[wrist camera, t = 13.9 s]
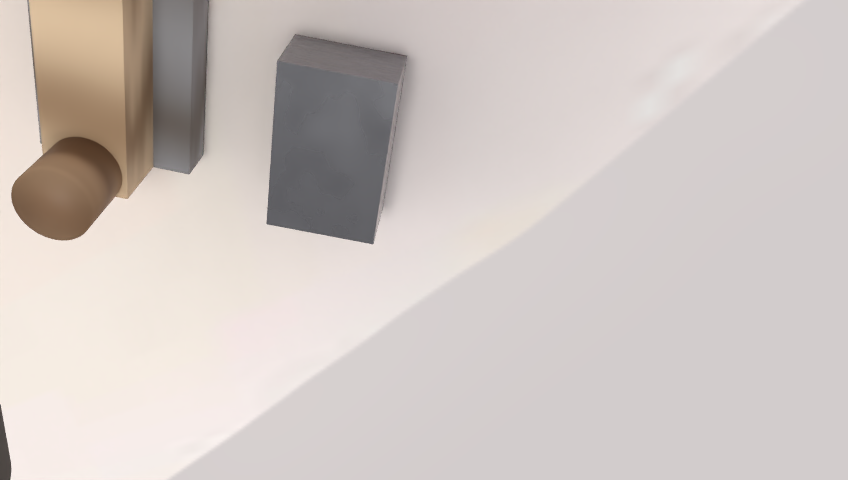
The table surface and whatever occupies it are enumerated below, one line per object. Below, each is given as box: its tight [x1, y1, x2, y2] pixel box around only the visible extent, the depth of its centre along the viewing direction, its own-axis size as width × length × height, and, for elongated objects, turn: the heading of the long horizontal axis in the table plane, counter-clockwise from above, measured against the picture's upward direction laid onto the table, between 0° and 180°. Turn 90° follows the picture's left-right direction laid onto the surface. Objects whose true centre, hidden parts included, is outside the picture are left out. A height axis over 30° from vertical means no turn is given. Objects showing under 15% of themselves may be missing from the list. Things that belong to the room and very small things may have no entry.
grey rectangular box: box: [267, 34, 407, 244], centre depth 37 cm, size 8×5×4 cm, turn 171°
